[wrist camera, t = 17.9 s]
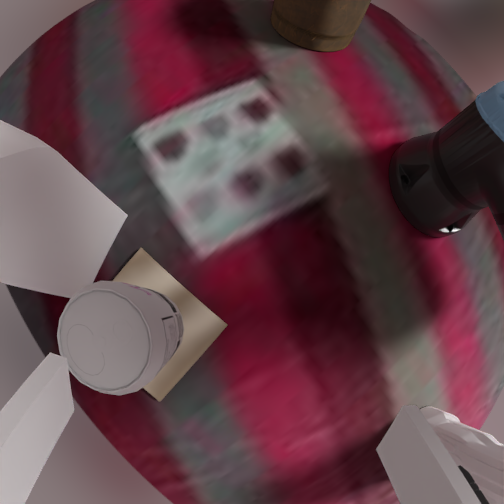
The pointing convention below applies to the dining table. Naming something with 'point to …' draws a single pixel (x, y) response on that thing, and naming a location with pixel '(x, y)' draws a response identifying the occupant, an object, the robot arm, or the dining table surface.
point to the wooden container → (318, 22)
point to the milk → (50, 218)
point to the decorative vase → (471, 451)
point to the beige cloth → (193, 313)
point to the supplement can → (118, 335)
